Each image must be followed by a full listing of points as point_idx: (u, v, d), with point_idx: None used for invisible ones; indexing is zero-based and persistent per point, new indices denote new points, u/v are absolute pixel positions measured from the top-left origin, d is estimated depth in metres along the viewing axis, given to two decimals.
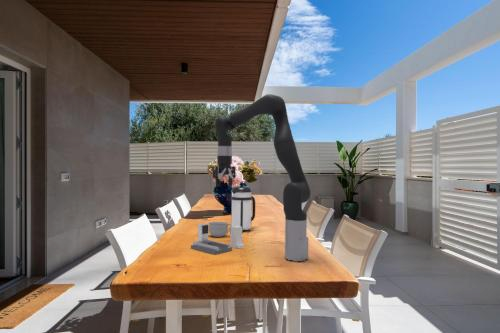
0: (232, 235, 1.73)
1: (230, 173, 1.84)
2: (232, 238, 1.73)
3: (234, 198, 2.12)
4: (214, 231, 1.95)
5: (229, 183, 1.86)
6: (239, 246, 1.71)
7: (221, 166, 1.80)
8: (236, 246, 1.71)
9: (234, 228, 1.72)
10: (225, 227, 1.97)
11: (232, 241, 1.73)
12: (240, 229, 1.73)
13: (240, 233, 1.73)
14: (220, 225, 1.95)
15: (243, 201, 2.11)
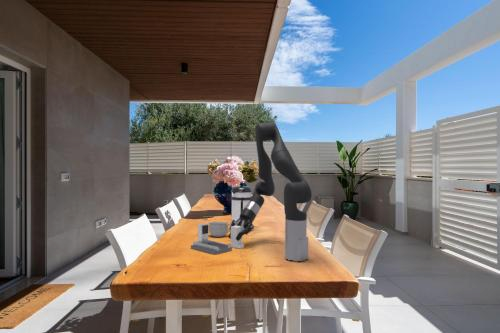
0: (232, 235, 1.73)
1: (241, 225, 1.74)
2: (232, 238, 1.73)
3: (234, 198, 2.12)
4: (214, 231, 1.95)
5: None
6: (239, 246, 1.71)
7: (238, 219, 1.80)
8: (236, 246, 1.71)
9: (234, 228, 1.72)
10: (225, 227, 1.97)
11: (232, 241, 1.73)
12: (240, 229, 1.73)
13: None
14: (220, 225, 1.95)
15: (243, 201, 2.11)
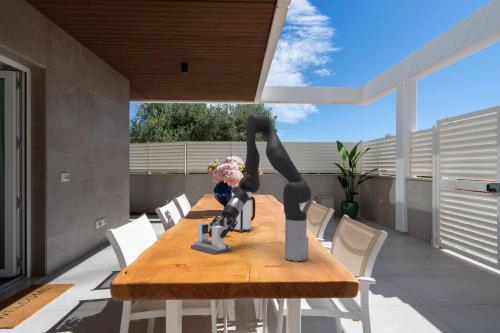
0: (213, 236, 1.64)
1: (225, 222, 1.65)
2: (213, 239, 1.64)
3: None
4: None
5: None
6: (220, 247, 1.61)
7: (221, 216, 1.71)
8: None
9: (215, 228, 1.63)
10: None
11: (213, 242, 1.64)
12: (222, 229, 1.64)
13: None
14: None
15: None
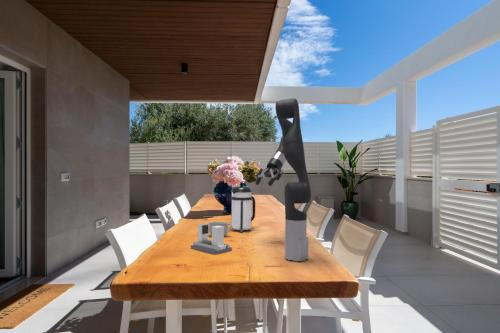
0: (213, 236, 1.64)
1: (271, 172, 1.80)
2: (213, 239, 1.64)
3: (234, 198, 2.12)
4: None
5: None
6: (220, 247, 1.61)
7: (266, 168, 1.86)
8: None
9: (215, 228, 1.63)
10: (225, 227, 1.97)
11: (213, 242, 1.64)
12: (222, 229, 1.64)
13: (222, 233, 1.64)
14: (220, 225, 1.95)
15: (243, 201, 2.11)
